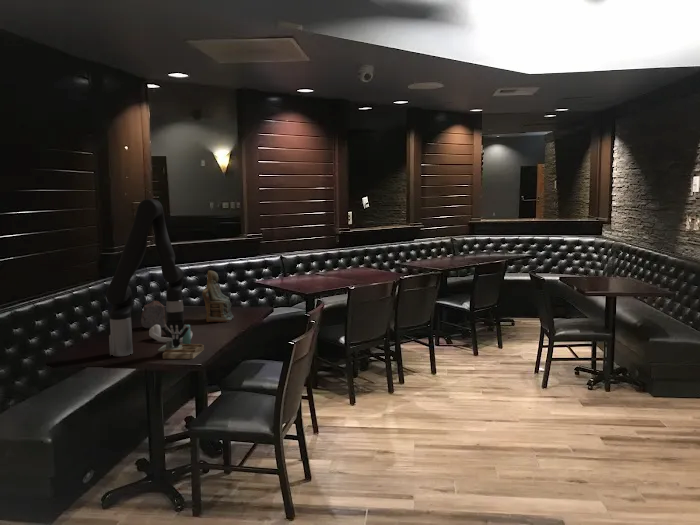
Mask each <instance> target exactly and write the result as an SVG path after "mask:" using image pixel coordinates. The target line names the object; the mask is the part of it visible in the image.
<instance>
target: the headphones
mask: <svg viewBox="0 0 700 525" xmlns="http://www.w3.org/2000/svg"><path fill="white" fill-rule="evenodd" d="M165 326H166V324H165ZM148 329H149V331H148V334H149V337H150V338H151V339H153V340H155V341H157V342H160V343H166V342H167V341H169V340H170V339H172V338H169V337H164V336H162V328H161V327H160V325H154V326H153V327H151V328H148ZM168 330H169V331H170V329H169V328H168ZM170 332H171V331H170ZM181 333H182V330H181ZM190 334H191V339H192V338H193V331H192V330H190ZM180 343H183V337H182V338H180Z"/></svg>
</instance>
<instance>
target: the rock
mask: <svg viewBox="0 0 700 525" xmlns="http://www.w3.org/2000/svg"><path fill="white" fill-rule="evenodd" d="M142 309H143V310H142V312H141V319H140V322H141V323H140V324H141V326H142V327H143V328H144V329H151V327H153V326H154V325H160V327H161V329H162V328H163V327H164V326H165V325H166V323H167V321H166V314H167V310H166V308H165V306H164V305H163V304H162V303H161V302H160V301H158V300H152V301H151V302H149V303H146V304H145V305H143V308H142Z"/></svg>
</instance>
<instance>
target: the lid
mask: <svg viewBox="0 0 700 525" xmlns="http://www.w3.org/2000/svg"><path fill="white" fill-rule="evenodd" d="M181 347H182V345H179V346H178V347H174V346H173V339H170V340H169V341H167V342H165V344H164V345H162V346H161V347H159V348H158V349H157V351H158V352H165V349H180V348H181Z"/></svg>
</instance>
